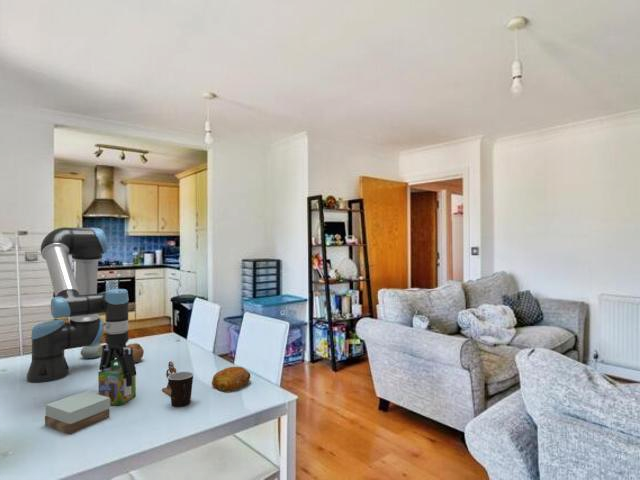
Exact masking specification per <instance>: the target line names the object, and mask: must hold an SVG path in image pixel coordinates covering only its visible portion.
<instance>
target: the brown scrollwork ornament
mask: <svg viewBox="0 0 640 480" xmlns="http://www.w3.org/2000/svg"><path fill="white" fill-rule="evenodd" d="M167 367H168V369H167V370H166V373H165V376H166V378H167V379H168V376H169V375H171V374H173V373H177V368H176V367H175V366H174V362H173V361H172V360H171V361H168V366H167ZM161 392H162V393H164V394H165V395H167V396H168V397H170V389H169V382H167V384H166V387H163V388H162V389H161Z"/></svg>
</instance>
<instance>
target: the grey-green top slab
mask: <svg viewBox="0 0 640 480" xmlns="http://www.w3.org/2000/svg"><path fill="white" fill-rule="evenodd" d="M107 409H109V410H110V409H111V405H110V398H109V397H106V396H102V395H99V393H98V394H97V393H94V392H91V391H87V390H85V391H82V392H79V393H76V394H72V395H71V396H67V397H64V398H62V399H59V400H56V401H54V402H50V403H47V404H45V416H48V417H50V418H53V419H56V420H59V421H62V422H65V423H68V424H72V423H75V422H77V421H80V420H82V419H85V418H87V417H90V416H92V415H95V414H97V413H100V412H102V411H105V410H107Z"/></svg>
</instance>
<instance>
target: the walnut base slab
mask: <svg viewBox="0 0 640 480" xmlns="http://www.w3.org/2000/svg"><path fill="white" fill-rule="evenodd" d="M109 418H110V408H109V409H107V410H105V411H102V412H100V413H97V414H95V415H92V416H90V417H87V418H85V419H82V420H80V421H77V422H75V423H72V424H68V423H65V422H62V421H59V420H56V419H53V418H50V417H48V416H46V415H45V416H44V426H45V427H47V428H51V429H53V430H56V431H59V432H61V433H63V434H67V435H72V434H74V433H76V432H77V433H78V432H79V431H81V430H83V429H84V430H85V428H88V427H90V426H93V425H95V424H97V423H100V422H102V421H104V420H107V419H109Z"/></svg>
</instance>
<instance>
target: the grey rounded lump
mask: <svg viewBox="0 0 640 480" xmlns="http://www.w3.org/2000/svg"><path fill="white" fill-rule="evenodd" d="M103 345H104V344H101V341H100V342H99V343H97V344H94V345H90V346H84V347H82V348H81V350H80V355H81V356H82V357H83V358H85V359H95V358H96V359H97V358H99V357H100V356H102V346H103ZM100 358H101V357H100Z"/></svg>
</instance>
